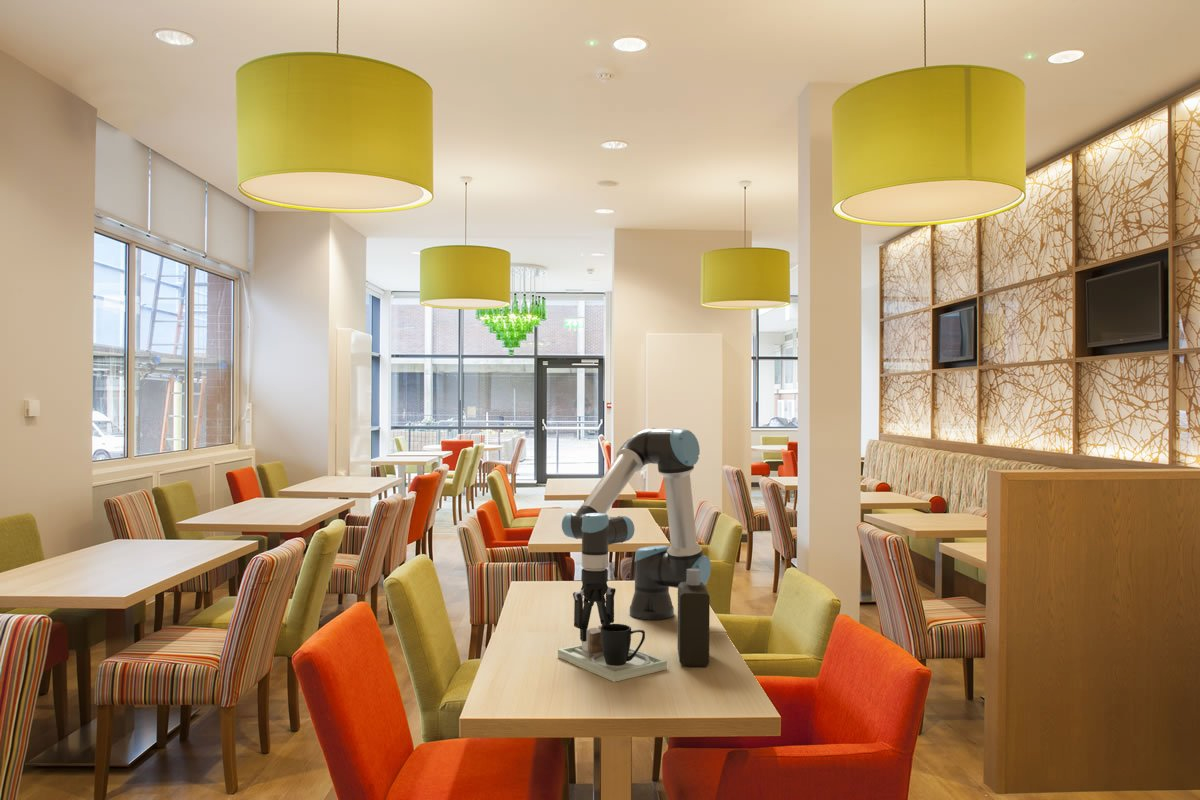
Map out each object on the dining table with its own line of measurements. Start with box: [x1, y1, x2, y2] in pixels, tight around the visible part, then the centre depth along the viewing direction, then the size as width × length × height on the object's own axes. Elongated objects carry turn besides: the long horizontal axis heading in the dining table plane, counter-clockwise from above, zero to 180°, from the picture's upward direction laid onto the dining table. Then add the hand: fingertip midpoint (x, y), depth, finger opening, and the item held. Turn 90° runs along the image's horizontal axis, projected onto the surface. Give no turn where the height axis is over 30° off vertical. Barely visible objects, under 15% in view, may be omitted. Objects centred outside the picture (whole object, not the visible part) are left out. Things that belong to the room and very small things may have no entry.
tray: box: [557, 644, 668, 683], centre depth 227 cm, size 18×26×2 cm
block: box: [588, 626, 603, 654], centre depth 233 cm, size 5×5×6 cm
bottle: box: [677, 569, 711, 668], centre depth 231 cm, size 8×16×25 cm, turn 177°
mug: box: [601, 623, 646, 666], centre depth 223 cm, size 8×12×10 cm
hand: (594, 650), depth 233 cm, fingers closed on block, 5 cm apart
